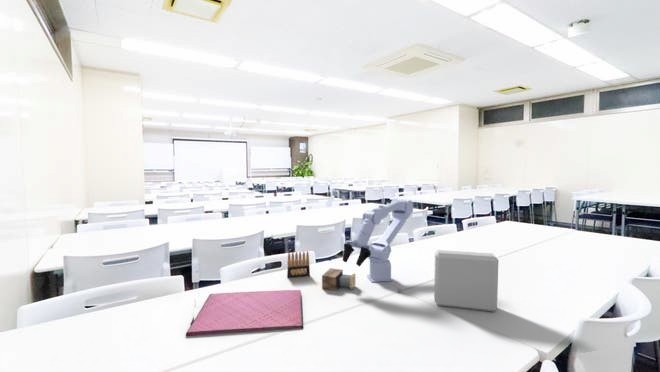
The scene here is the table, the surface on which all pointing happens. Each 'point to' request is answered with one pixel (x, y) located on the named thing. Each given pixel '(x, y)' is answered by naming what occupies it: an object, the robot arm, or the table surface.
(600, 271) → the table surface
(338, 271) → the collar block
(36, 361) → the table surface
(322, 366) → the table surface
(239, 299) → the laptop bag
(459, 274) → the bevelled white case
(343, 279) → the peg
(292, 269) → the ammunition clip
